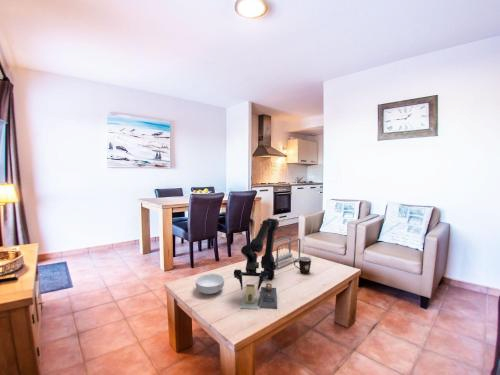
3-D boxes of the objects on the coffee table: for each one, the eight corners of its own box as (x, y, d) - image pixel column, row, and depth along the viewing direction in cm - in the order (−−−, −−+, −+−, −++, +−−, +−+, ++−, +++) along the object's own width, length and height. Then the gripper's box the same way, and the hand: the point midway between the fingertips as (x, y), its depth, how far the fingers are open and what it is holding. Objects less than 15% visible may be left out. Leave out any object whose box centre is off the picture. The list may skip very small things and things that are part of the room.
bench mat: (242, 297, 140) (242, 296, 140) (258, 298, 140) (258, 297, 140) (240, 308, 129) (240, 307, 129) (257, 309, 129) (257, 308, 129)
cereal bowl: (193, 286, 152) (193, 275, 151) (220, 282, 158) (220, 271, 157) (198, 300, 136) (198, 288, 136) (227, 295, 142) (227, 283, 142)
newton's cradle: (289, 256, 208) (290, 235, 206) (300, 259, 200) (300, 238, 199) (265, 266, 186) (266, 242, 185) (277, 270, 179) (277, 246, 178)
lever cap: (246, 301, 136) (246, 284, 135) (254, 301, 135) (254, 284, 135) (245, 304, 133) (245, 286, 132) (254, 304, 132) (254, 287, 132)
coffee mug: (310, 270, 179) (311, 257, 178) (310, 275, 170) (311, 261, 169) (294, 269, 181) (294, 255, 181) (293, 273, 173) (294, 259, 172)
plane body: (260, 291, 148) (261, 282, 147) (276, 291, 147) (276, 282, 147) (259, 307, 131) (260, 297, 130) (277, 308, 130) (277, 298, 129)
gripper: (234, 255, 137) (231, 284, 127) (268, 256, 136) (267, 285, 126) (236, 263, 146) (233, 291, 135) (268, 265, 144) (267, 293, 134)
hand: (249, 290), depth 132 cm, fingers open, 8 cm apart
